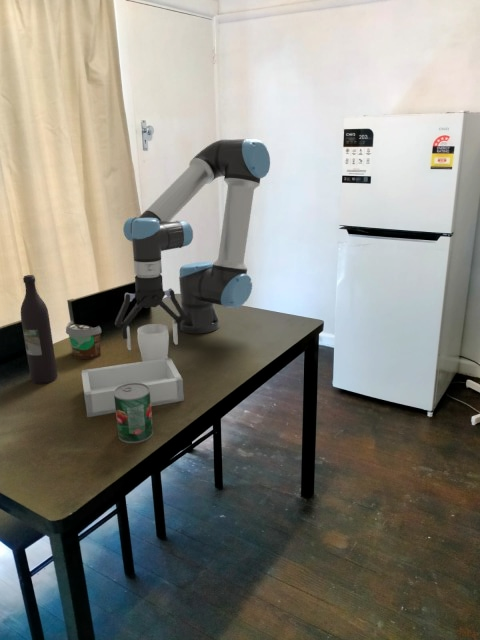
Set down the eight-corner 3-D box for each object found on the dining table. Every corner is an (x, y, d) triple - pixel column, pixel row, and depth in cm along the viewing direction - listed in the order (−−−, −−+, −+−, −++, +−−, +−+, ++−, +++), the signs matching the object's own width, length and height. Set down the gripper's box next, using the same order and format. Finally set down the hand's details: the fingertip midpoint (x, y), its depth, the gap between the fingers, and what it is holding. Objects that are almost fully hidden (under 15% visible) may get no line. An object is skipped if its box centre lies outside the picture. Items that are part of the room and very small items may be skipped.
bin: (171, 376, 145) (170, 357, 143) (183, 400, 131) (182, 379, 129) (83, 390, 137) (81, 370, 135) (87, 417, 124) (84, 395, 122)
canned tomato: (160, 432, 117) (157, 389, 113) (132, 447, 111) (128, 402, 108) (138, 421, 122) (135, 379, 118) (111, 434, 116) (106, 391, 113)
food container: (60, 356, 160) (56, 326, 156) (75, 349, 165) (71, 320, 161) (90, 363, 154) (86, 332, 151) (104, 356, 159) (100, 326, 156)
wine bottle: (30, 376, 146) (13, 274, 136) (55, 371, 149) (41, 271, 139) (32, 386, 140) (15, 280, 130) (59, 381, 143) (44, 277, 133)
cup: (175, 362, 154) (173, 324, 150) (163, 374, 146) (160, 335, 142) (148, 359, 157) (145, 322, 153) (134, 371, 148) (131, 332, 144)
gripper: (103, 281, 135) (110, 355, 141) (195, 274, 143) (197, 344, 149) (101, 275, 141) (107, 346, 148) (188, 268, 149) (191, 336, 156)
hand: (152, 345), depth 149 cm, fingers open, 13 cm apart
